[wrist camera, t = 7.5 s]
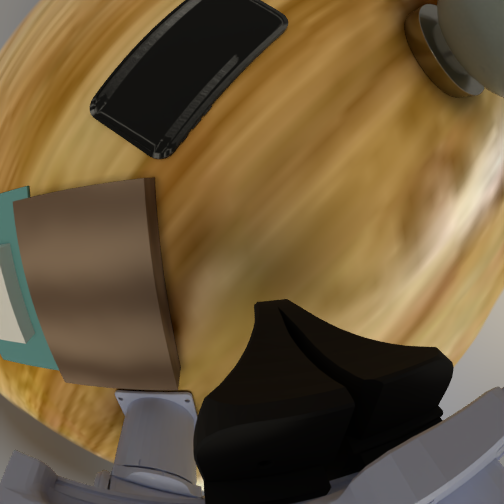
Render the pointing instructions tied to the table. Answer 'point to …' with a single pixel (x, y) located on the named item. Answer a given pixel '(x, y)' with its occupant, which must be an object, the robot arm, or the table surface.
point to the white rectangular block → (12, 302)
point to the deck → (100, 284)
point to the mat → (36, 349)
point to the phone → (183, 70)
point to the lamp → (460, 45)
